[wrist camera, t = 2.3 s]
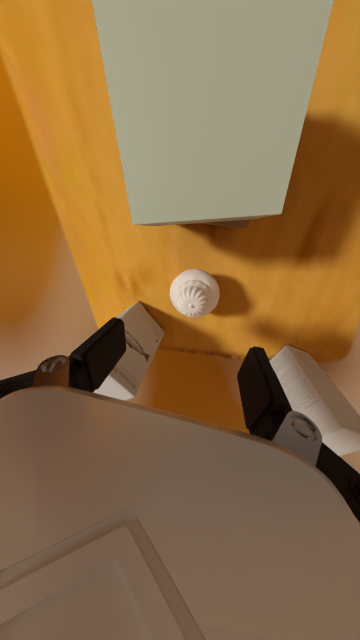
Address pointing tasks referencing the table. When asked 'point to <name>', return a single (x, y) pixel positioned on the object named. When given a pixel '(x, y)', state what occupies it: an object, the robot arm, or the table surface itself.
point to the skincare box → (317, 399)
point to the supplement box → (133, 353)
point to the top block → (209, 102)
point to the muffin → (194, 293)
